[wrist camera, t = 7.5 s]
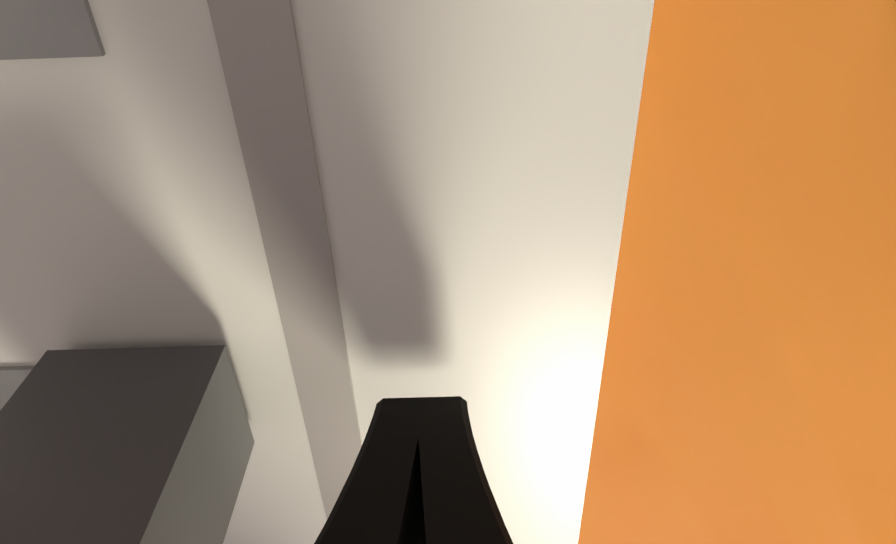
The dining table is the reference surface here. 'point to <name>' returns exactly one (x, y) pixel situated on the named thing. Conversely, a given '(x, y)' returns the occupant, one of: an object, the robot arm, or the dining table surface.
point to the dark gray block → (123, 448)
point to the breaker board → (331, 219)
